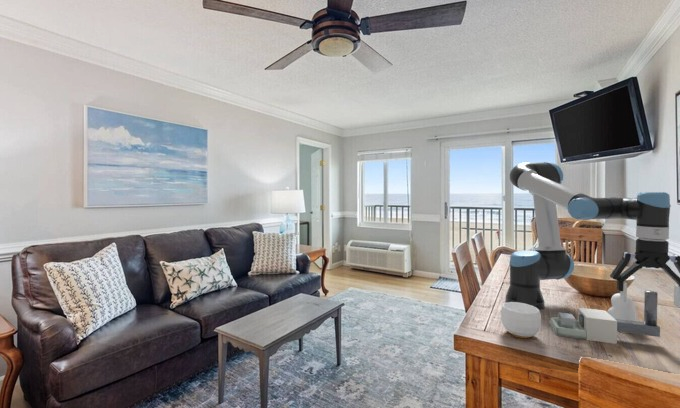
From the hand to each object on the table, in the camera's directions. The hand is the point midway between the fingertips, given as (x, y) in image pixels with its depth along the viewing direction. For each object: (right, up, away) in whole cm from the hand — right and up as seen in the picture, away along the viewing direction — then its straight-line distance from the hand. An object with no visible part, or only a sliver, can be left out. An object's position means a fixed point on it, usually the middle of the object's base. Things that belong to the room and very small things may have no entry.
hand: (649, 303), depth 101 cm
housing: (-13, -13, +6) cm, 19 cm away
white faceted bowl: (-39, -14, +7) cm, 41 cm away
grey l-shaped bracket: (-8, -10, +3) cm, 13 cm away
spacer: (-19, -10, +8) cm, 23 cm away
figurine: (+3, -13, +13) cm, 18 cm away
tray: (-21, -13, +9) cm, 26 cm away
